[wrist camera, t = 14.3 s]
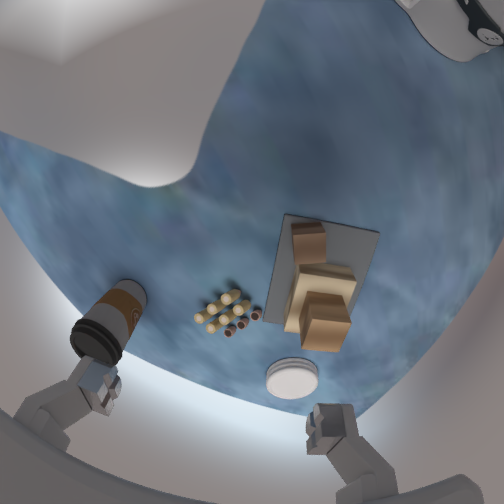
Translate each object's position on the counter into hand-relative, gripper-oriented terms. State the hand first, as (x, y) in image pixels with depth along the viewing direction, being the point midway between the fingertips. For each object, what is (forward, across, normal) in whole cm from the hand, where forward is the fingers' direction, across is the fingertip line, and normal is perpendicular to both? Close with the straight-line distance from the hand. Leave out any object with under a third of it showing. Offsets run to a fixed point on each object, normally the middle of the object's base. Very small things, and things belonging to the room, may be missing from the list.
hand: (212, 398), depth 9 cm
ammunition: (+30, +1, +17) cm, 34 cm away
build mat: (+29, -11, +10) cm, 33 cm away
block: (+28, -8, +3) cm, 30 cm away
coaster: (+30, -12, +32) cm, 45 cm away
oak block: (+24, -11, +12) cm, 29 cm away
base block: (+28, -11, +12) cm, 33 cm away
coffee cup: (+29, +19, +19) cm, 40 cm away
